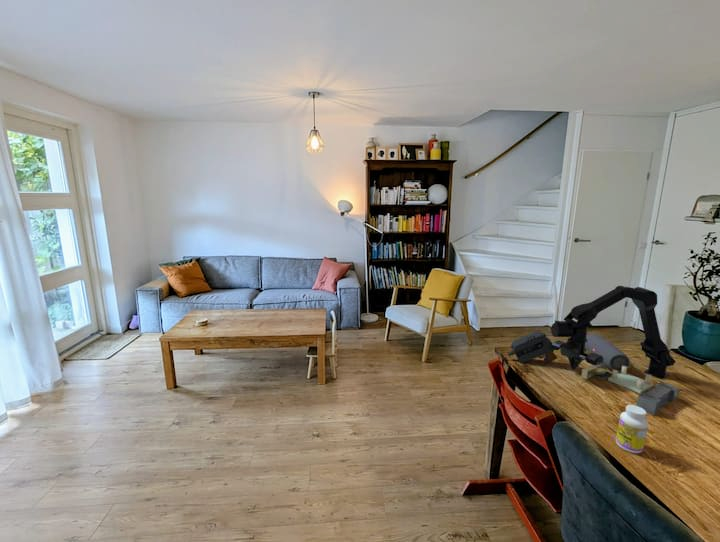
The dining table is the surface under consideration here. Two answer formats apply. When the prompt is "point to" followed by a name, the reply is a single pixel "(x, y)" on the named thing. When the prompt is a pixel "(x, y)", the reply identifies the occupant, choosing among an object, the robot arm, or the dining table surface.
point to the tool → (533, 347)
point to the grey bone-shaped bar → (657, 398)
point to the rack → (631, 380)
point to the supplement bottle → (632, 429)
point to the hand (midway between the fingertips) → (573, 370)
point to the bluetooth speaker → (606, 352)
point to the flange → (603, 375)
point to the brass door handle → (593, 371)
